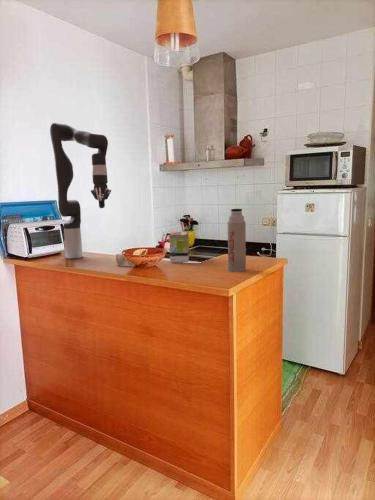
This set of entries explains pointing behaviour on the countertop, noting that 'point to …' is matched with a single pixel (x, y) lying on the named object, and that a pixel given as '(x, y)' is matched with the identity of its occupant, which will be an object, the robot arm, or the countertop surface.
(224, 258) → the countertop surface
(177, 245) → the tea box
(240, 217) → the thermos bottle
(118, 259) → the birch block
